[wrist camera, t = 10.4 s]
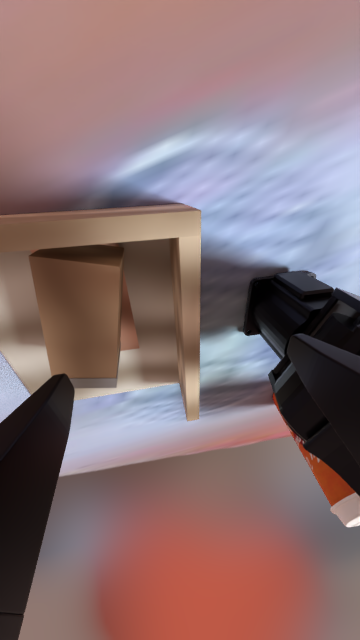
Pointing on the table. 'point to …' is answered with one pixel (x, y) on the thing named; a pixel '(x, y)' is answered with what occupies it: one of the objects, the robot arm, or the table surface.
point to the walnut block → (81, 311)
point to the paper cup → (332, 485)
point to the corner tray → (137, 297)
